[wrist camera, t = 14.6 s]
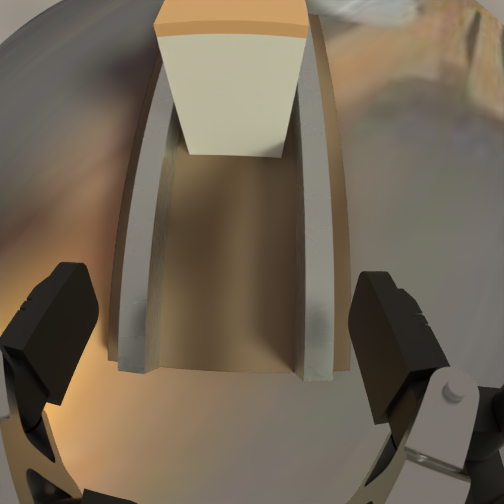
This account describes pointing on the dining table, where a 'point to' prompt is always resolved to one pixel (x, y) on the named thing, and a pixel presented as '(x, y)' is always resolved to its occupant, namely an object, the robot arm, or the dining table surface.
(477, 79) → the dining table surface
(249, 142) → the block
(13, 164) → the dining table surface
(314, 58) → the rail board
